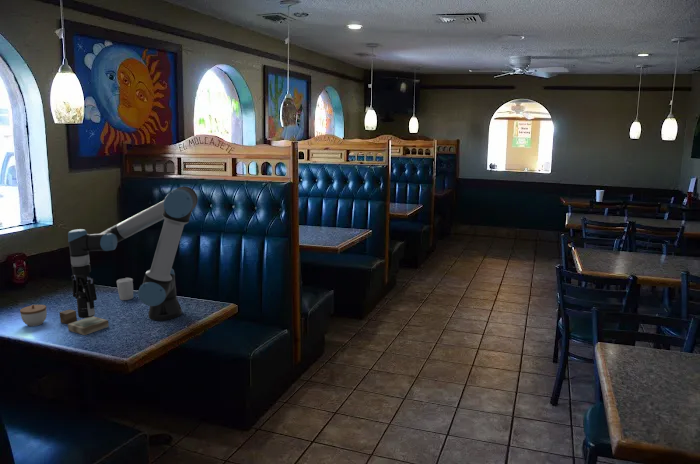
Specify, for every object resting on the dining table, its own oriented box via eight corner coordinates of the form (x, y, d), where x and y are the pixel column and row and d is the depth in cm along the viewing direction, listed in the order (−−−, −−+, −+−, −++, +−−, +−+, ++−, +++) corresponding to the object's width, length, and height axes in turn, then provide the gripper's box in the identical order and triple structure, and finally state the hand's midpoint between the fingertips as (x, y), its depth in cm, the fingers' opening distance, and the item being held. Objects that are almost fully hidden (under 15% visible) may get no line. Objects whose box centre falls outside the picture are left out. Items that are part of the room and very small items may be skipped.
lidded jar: (20, 323, 262) (17, 304, 260) (46, 318, 268) (43, 299, 266) (24, 330, 254) (21, 310, 252) (50, 324, 260) (47, 305, 258)
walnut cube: (77, 320, 264) (75, 310, 263) (67, 324, 260) (65, 314, 259) (70, 319, 267) (69, 309, 266) (60, 322, 263) (59, 312, 262)
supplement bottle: (84, 319, 248) (81, 293, 245) (75, 316, 251) (72, 291, 249) (98, 314, 253) (95, 289, 251) (89, 312, 257) (86, 287, 255)
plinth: (108, 326, 255) (108, 319, 255) (84, 335, 245) (83, 328, 245) (92, 322, 262) (92, 315, 261) (68, 330, 252) (67, 323, 251)
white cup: (128, 300, 292) (126, 282, 290) (115, 300, 293) (113, 282, 291) (137, 296, 299) (135, 278, 297) (124, 295, 301) (122, 277, 299)
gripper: (102, 265, 246) (107, 314, 250) (75, 259, 256) (81, 307, 260) (86, 269, 239) (92, 320, 244) (59, 263, 250) (66, 312, 254)
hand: (86, 313), depth 252 cm, fingers closed on supplement bottle, 7 cm apart
